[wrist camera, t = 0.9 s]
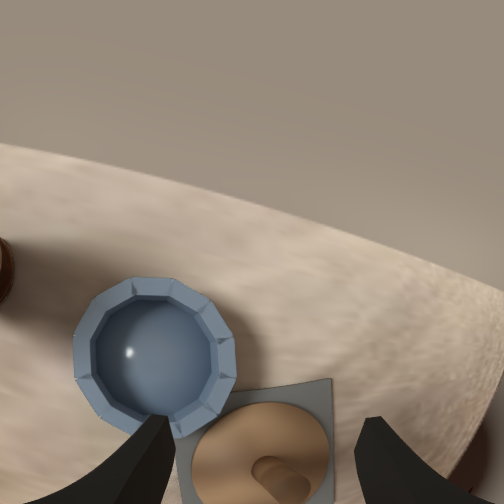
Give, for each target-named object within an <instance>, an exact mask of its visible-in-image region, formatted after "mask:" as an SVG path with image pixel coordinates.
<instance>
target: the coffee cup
mask: <svg viewBox="0 0 504 504" xmlns="http://www.w3.org/2000/svg"><path fill="white" fill-rule="evenodd" d="M13 279H14V262H13V257H12V255H11V252H10V249H9V247H8V245H7V244H5V242H4V241H3V240H2V238H1V237H0V304H1V303H2V302H3V301H4V300H5V299H6V297H7V296H8V294H9V291H10V289H11V286H12V283H13Z"/></svg>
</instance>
